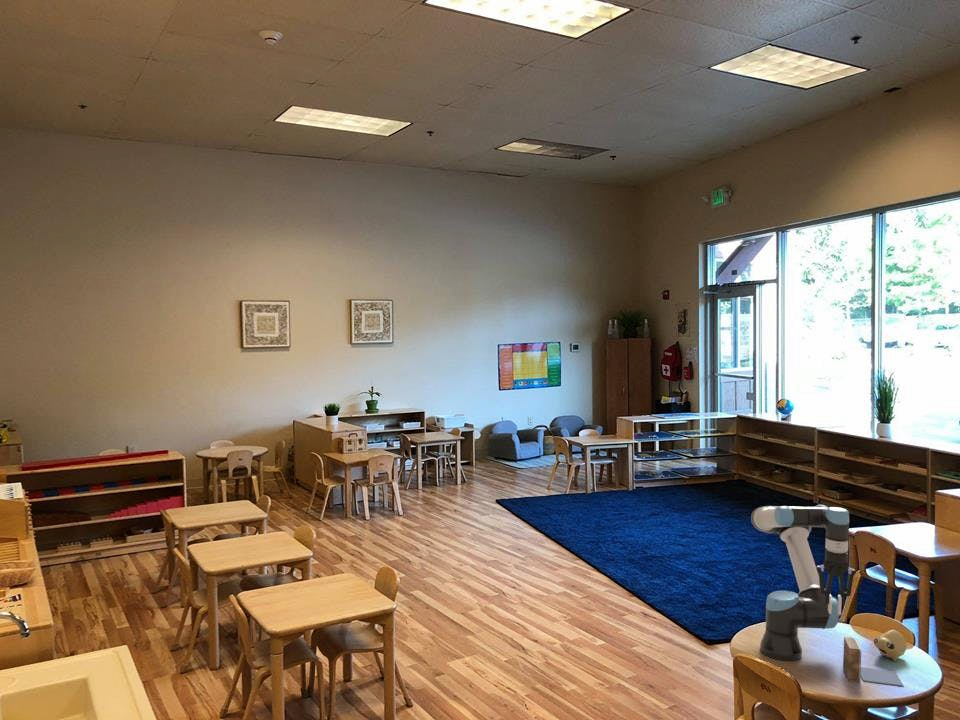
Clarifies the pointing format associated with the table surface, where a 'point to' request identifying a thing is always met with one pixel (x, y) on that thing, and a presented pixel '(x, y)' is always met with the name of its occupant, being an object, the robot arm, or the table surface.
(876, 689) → the table surface
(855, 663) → the brown flat block
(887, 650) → the beige rounded lump
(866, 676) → the mat
